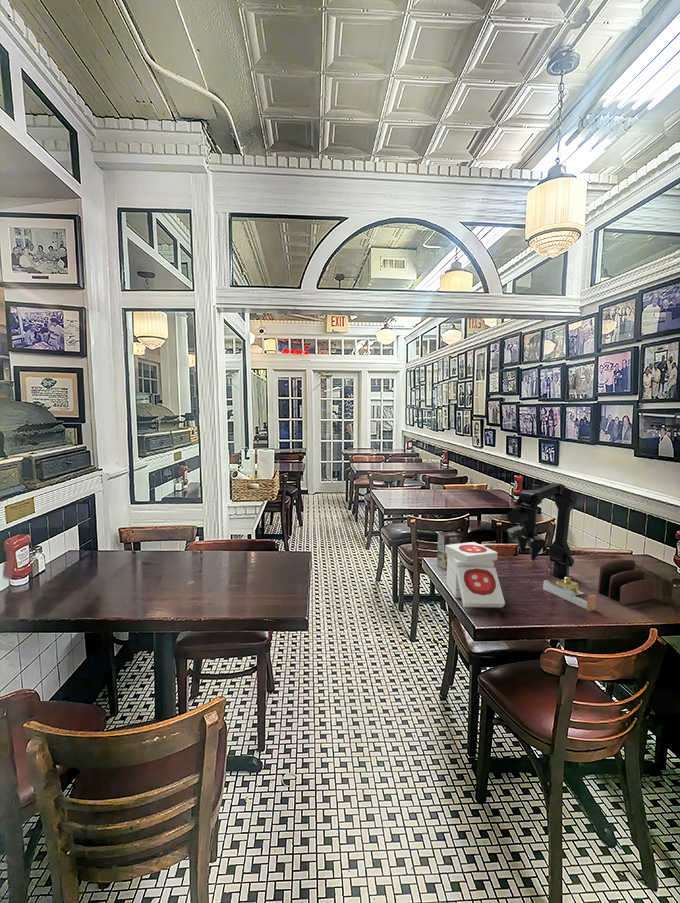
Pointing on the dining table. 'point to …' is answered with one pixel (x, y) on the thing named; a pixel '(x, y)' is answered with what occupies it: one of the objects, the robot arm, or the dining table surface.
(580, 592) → the pad
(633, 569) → the letter holder
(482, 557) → the pizza boxes
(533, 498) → the robot arm
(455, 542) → the coffee box
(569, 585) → the clip saddle
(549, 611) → the dining table surface
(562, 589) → the flange rail
